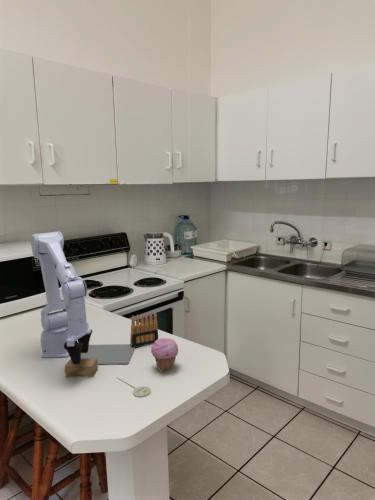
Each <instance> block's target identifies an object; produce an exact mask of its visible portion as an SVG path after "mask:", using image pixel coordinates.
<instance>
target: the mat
mask: <svg viewBox="0 0 375 500" xmlns="http://www.w3.org/2000/svg"><path fill="white" fill-rule="evenodd" d="M135 350H136V347H133V348H132V347H131V346H130V344H129V343H128V344H126V343H125V344H121V343H120V344H115V343H114V344H113V343H112V344H89V348H88V352H87V353H81V359H97V365H98V366H99V365H101V366H102V365H103V366H104V365H105V366H106V365H107V366H108V365H110V366H111V365H112V366H113V365H115V366H116V365H117V366H118V365H120V366H121V365H124V366H126V365H129V363H130V361H131V359H132V356H133V354H134V351H135Z"/></svg>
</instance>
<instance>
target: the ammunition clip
mask: <svg viewBox="0 0 375 500" xmlns="http://www.w3.org/2000/svg"><path fill="white" fill-rule="evenodd" d="M152 314H153V315H152ZM157 317H158V316H157V313H156V311H154V313H152V312H150V313H149V316H148V313H145V315H144V314H142V313H141V315H140V317H139V314H137V315H136V317H135V315H132V317H131V326H130V339H129V340H130V342H129V343H130V346H131V347H132V348H133V347H135V348H138V347H142V346H146V345H153V344H154V342H155V341H156V340H158V339H159V329H158V319H157Z"/></svg>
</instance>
